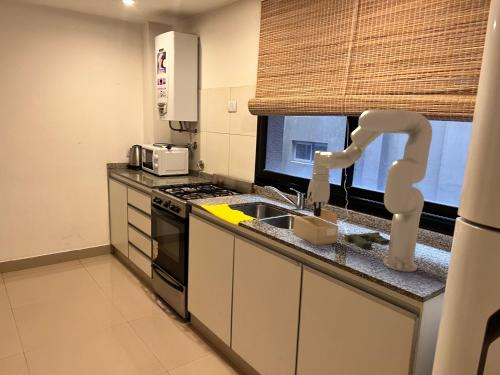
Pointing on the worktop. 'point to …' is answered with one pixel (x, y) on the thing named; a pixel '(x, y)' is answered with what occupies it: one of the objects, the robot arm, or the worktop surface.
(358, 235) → the firearm
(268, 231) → the worktop surface
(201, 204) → the worktop surface
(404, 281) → the worktop surface
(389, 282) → the worktop surface
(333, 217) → the back flap
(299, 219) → the front flap
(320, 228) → the carton
